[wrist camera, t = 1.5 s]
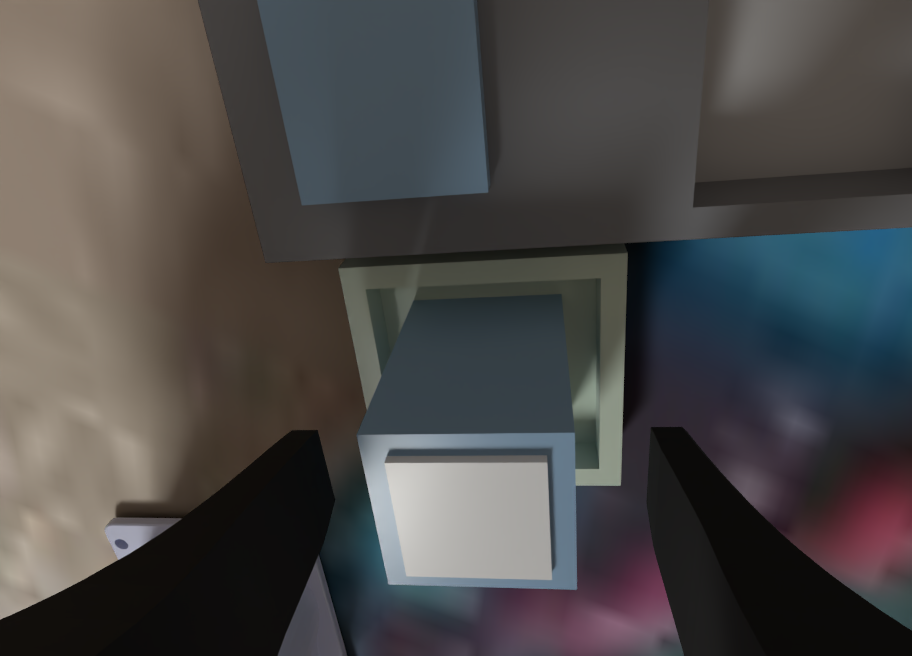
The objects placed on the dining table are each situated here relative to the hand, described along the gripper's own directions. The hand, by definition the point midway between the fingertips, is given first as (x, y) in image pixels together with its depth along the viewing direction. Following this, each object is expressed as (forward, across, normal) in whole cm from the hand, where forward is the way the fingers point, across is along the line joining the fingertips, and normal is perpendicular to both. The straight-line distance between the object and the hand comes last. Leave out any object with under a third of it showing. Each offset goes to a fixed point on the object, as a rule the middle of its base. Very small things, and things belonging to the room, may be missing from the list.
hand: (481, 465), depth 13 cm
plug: (+5, 0, 0) cm, 5 cm away
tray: (+5, 0, 0) cm, 5 cm away
